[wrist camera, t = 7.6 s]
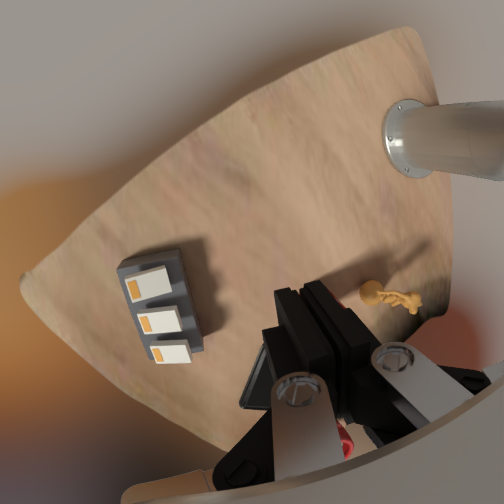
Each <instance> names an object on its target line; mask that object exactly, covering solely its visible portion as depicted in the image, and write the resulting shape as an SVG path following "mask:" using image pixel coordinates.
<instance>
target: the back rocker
mask: <svg viewBox="0 0 504 504" xmlns="http://www.w3.org/2000/svg"><path fill="white" fill-rule="evenodd" d="M150 349H151V351H152V353H153V356H154V358H155V361H156V363H157V364H166V363H191V362H192V359H193V355H192V353H191V350H190V347H189V344H188V341H187V339H184V340H172V339H169V340H165V341H152V343H151V345H150Z"/></svg>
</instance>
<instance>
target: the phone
mask: <svg viewBox="0 0 504 504" xmlns="http://www.w3.org/2000/svg"><path fill="white" fill-rule="evenodd" d="M273 386H274V381H273V377H272V374H271V371H270V367H269V363H268V359H267V355H266V351H265V346H264V344H262V346H261V348H260V351H259V353H258V356H257V358H256V361H255V363H254V366H253V368H252V371H251V374H250V376H249V379H248V381H247V384H246V386H245V389H244V391H243V393H242V396H241V398H240V401H239V405H240V407H241V408H242V409H252V410H268V409H269V408H270V407H271V390H272V387H273Z"/></svg>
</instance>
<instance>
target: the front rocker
mask: <svg viewBox="0 0 504 504" xmlns="http://www.w3.org/2000/svg"><path fill="white" fill-rule="evenodd" d="M125 283H126V286H127V289H128V292H129V295H130V298H131V301H132V303H134V302H137V301H141V300H145V299H148V298H152V297H155V296H159V295H162V294H166V293H169V292H172V289H171V286H170V282H169V278H168V275H167V271H166V268H165V265H163V266H159V267H156V268H152V269H149V270H145V271H141V272H138V273H134V274H131V275H127V276H125Z"/></svg>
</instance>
